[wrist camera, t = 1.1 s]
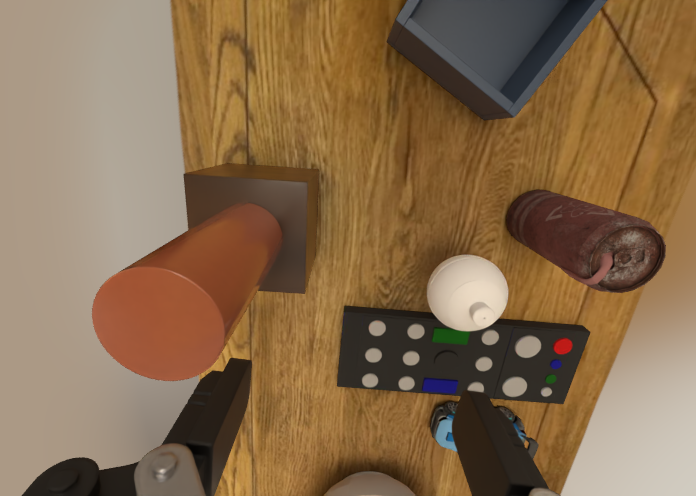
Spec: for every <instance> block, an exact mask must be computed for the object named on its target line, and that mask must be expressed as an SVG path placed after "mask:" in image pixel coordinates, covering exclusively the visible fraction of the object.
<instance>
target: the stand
mask: <svg viewBox="0 0 696 496" xmlns="http://www.w3.org/2000/svg"><path fill="white" fill-rule="evenodd" d="M184 184H185V195H186V206H187V217H188V228H189V230H190V229H192V228H193V227H195V226H197V225H198V224H200V223H201V222H203V221H205V220H206V219H208V218H210V217H211V216H213V215H215V214H216V213H218V212H220V211H221V210H223V209H225V208H226V207H228V206H230V205H233V204H237V203H251V204H255V205H258V206H260V207H262V208H264V209H266V210H267V211H268V212H270V213H271V214H272V215H273V216H274V218H275V219H276V220H277V222H278V223H279V226H280V228H281V231H282V235H283V244H282V249H281V252H280V254H279V256H278V257H277V259H276V261H275V262H274V264H273V266H272V267H271V269H270V271H269V273H268V274H267V276H266V278H265V279H264V281H263V283H262V284H261V286H260V288H259V290H258V291H270V292H286V293H302V294H305V292H306V288H307V285H308V281H309V278H310V274H311V271H312V267H313V264H314V260H315V256H316V238H317V211H318V184H319V169H304V168H290V167H275V166H260V165H246V164H231V163H226V164H222V165H218V166H214V167H210V168H206V169H202V170H198V171H194V172H189V173H185V174H184Z"/></svg>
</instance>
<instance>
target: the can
mask: <svg viewBox="0 0 696 496" xmlns="http://www.w3.org/2000/svg"><path fill="white" fill-rule="evenodd" d="M507 228H508V230H509V232H510V234H511V235H512V236H513V237H514V238H515V239H516V240H518V241H519V242H521V243H522V244H524V245H526V246H527V247H529V248H530V249H532V250H533V251H535V252H536V253H538V254H539V255H541V256H543V257H544V258H546V259H547V260H549V261H550V262H552V263H553V264H555V265H556V266H558V267H560V268H561V269H562V270H563V271H564V272H565V273H567V274H568V275H569V276H570V277H572V278H574V279H576V280H577V281H579V282H581V283H583V284H586V285H587V286H589V287H591V288H593V289H596V290H599V291H607V292H614V293H623V292H628V291H632V290H635V289H637V288H639V287H641V286H643V285H645V284H646V283H647V282H648V281H650V280H651V279H652V278H653V277H654V276H655V275H656V273H657V272H658V271H659V269H660V268H661V266H662V263H663V261H664V258H665V251H666V245H665V242H664V240H663V237H662V236H661V235H660V234H659V233H658V232H657V230H656V229H655V228H654V227H653V226H652V225H651V224H650V223H649V222H647V221H645V220H642V219H640V218H637V217H634V216H631V215H627V214H624V213H621V212H617V211H614V210H610V209H607V208H604V207H600V206H597V205H594V204H590V203H587V202H583V201H580V200H577V199H573V198H570V197H567V196H563V195H560V194H556V193H553V192H550V191H546V190H534V191H530V192H527V193H525V194H523V195H522V196H520V197H519V198H518V199H517V200H516V201H515V202H514V203H513V204H512V206H511V208H510V209H509V211H508V215H507Z"/></svg>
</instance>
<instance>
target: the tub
mask: <svg viewBox="0 0 696 496" xmlns="http://www.w3.org/2000/svg"><path fill="white" fill-rule="evenodd" d="M606 1H607V0H407V2H406V3H405V5H404V7H403V8H402V10H401V11H400V13H399V15H398V16H397V18H396V19H395V22H394V25H393V27H392V30H391V32H390V35H389V37H388V40H387V43H389V44H390V45H391V46H392V47H394V48H395V49H396V50H397V51H399V52H400V53H401V54H402V55H404V56H405V57H406V58H407V59H408V60H410V61H411V62H412V63H413V64H415V65H416V66H417V67H418V68H420V69H421V70H422V71H423V72H425V73H426V74H427V75H428V76H430V77H431V78H432V79H433V80H435V81H436V82H437V83H438V84H440V85H441V86H442V87H443V88H445V89H446V90H447V91H448V92H450V93H451V94H452V95H453V96H455V97H456V98H457V99H458V100H460V101H461V102H462V103H463V104H465V105H466V106H467V107H468V108H470V109H471V110H472V111H473V112H475V113H476V114H477V115H478V116H480V117H481V118H482V119H483V120H492V119H503V118H513V117H515V116H516V115H517V114H518V113H519V111H520V110H521V109H522V108H523V106H524V105H525V104H526V102H527V101H528V100H529V99H530V97H531V96H532V95H533V94H534V92H535V91H536V90H537V89H538V87H539V86H540V85H541V84H542V82H543V81H544V80H545V78H546V77H547V76H548V75H549V73H550V72H551V71H552V70H553V68H554V67H555V66H556V65H557V63H558V62H559V61H560V59H561V58H562V57H563V56H564V54H565V53H566V52H567V51H568V49H569V48H570V47H571V46H572V44H573V43H574V42H575V41H576V39H577V38H578V37H579V35H580V34H581V33H582V32H583V30H584V29H585V28H586V27H587V25H588V24H589V23H590V22H591V20H592V19H593V18H594V16H595V15H596V14H597V13H598V11H599V10H600V9H601V8H602V6H603V5H604V4H605V3H606Z"/></svg>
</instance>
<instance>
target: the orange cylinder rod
mask: <svg viewBox="0 0 696 496" xmlns="http://www.w3.org/2000/svg"><path fill="white" fill-rule="evenodd" d="M282 244H283V235H282V231H281V228H280V226H279V223H278V222H277V220H276V219H275V218H274V216H273V215H272V214H271V213H270V212H268V211H267V210H266V209H264V208H262V207H260V206H258V205H255V204H251V203H237V204H233V205H230V206H228V207H226V208H225V209H223V210H221V211H220V212H218V213H216V214H215V215H213V216H211V217H210V218H208V219H206V220H205V221H203V222H201V223H200V224H198V225H197V226H195V227H193V228H192V229H190V230H188V231H187V232H185V233H183V234H182V235H180V236H178V237H177V238H175V239H173V240H172V241H170V242H168V243H167V244H165V245H163V246H162V247H160V248H159V249H157V250H155V251H153V252H152V253H150V254H148V255H147V256H145V257H143V258H142V259H140V260H138V261H137V262H135V263H133V264H132V265H130V266H128V267H127V268H125V269H123V270H122V271H120V272H118V273H117V274H115V275H113V276H112V277H110V278H109V279H108V280H107V281H106V282H105V283H104V284H103V285H102V286H101V287H100V289H99V291H98V292H97V294H96V297H95V299H94V303H93V308H92V319H93V325H94V329H95V332H96V334H97V337H98V339H99V340H100V342H101V344H102V345H103V347H104V348H105V349H106V351H107V352H108V353H109V354H110V355H111V356H112V357H113V358H114V359H115V360H116V361H117V362H119V363H120V364H121V365H123V366H124V367H126V368H127V369H129V370H131V371H133V372H135V373H137V374H139V375H141V376H144V377H148V378H151V379H156V380H163V381H178V380H184V379H189V378H192V377H195V376H197V375H199V374H201V373H203V372H204V371H206V370H207V369H209V368H210V367H211V366H212V365H213V364H214V363H215V362H216V360H217V359H218V358H219V356H220V354H221V353H222V351H223V349H224V347H225V346H226V344H227V342H228V341H229V339H230V337H231V336H232V334H233V332H234V330H235V329H236V327H237V325H238V324H239V322H240V320H241V319H242V317H243V315H244V313H245V312H246V310H247V308H248V307H249V305H250V303H251V302H252V300H253V298H254V296H255V295H256V293H257V291H258V290H259V288H260V286H261V284H262V283H263V281H264V279H265V278H266V276H267V274H268V273H269V271H270V269H271V267H272V266H273V264H274V262H275V261H276V259H277V257H278V256H279V254H280V252H281V249H282Z"/></svg>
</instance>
